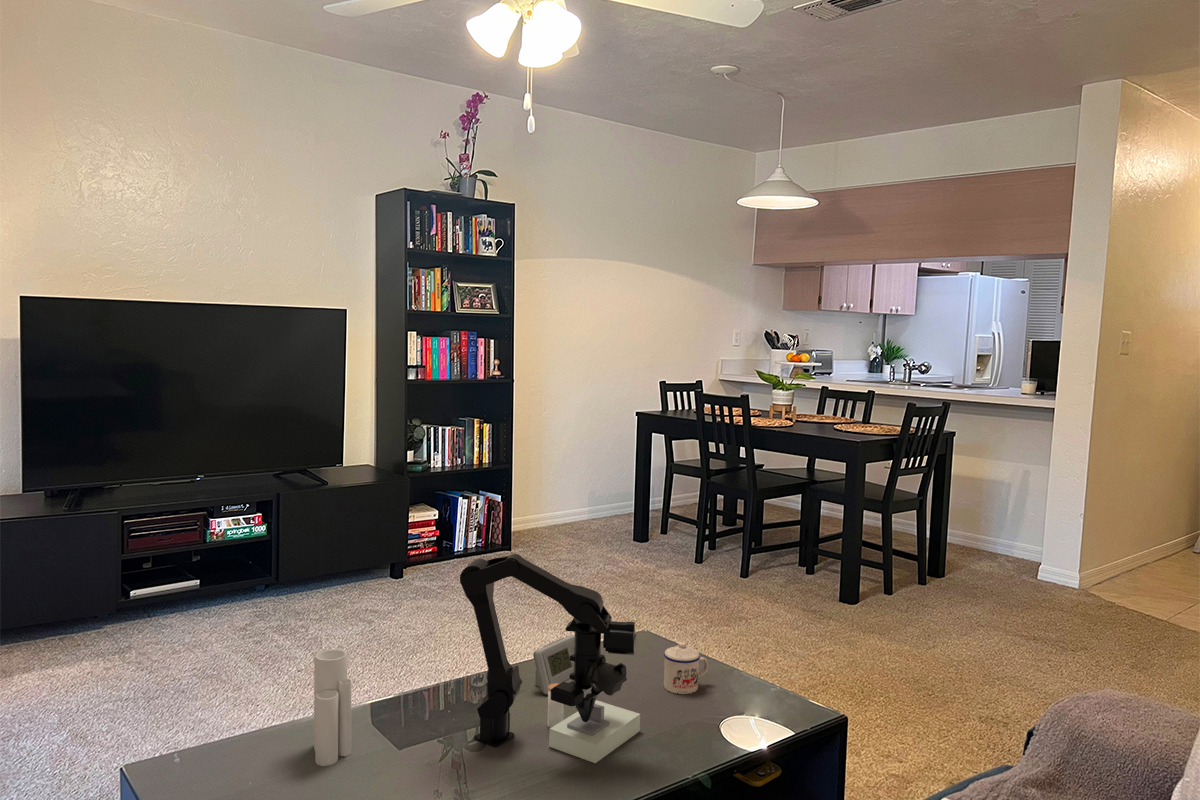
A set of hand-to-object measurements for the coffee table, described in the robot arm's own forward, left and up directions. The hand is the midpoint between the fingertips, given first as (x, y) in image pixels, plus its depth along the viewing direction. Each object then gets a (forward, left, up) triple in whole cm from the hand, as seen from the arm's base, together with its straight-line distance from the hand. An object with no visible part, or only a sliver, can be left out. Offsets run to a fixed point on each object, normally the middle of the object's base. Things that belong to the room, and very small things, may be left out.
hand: (585, 721), depth 184 cm
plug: (+4, +11, -6) cm, 13 cm away
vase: (-34, +41, -6) cm, 53 cm away
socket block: (+4, 0, -6) cm, 7 cm away
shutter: (+1, 0, -2) cm, 2 cm away
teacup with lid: (+41, -3, -6) cm, 42 cm away
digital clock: (+23, +24, -6) cm, 34 cm away
